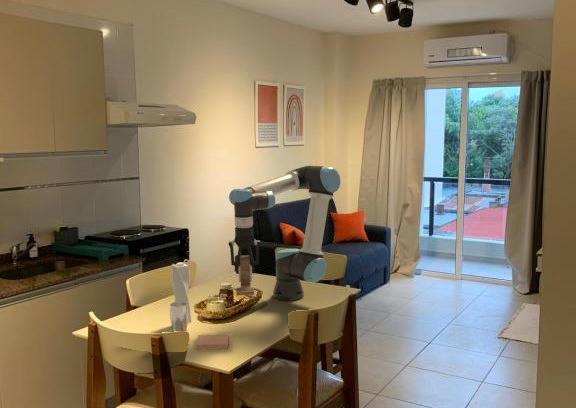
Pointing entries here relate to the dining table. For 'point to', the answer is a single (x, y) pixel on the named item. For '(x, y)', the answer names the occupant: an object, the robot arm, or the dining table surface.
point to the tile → (212, 341)
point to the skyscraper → (181, 284)
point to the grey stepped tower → (245, 277)
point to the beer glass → (179, 316)
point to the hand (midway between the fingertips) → (245, 280)
